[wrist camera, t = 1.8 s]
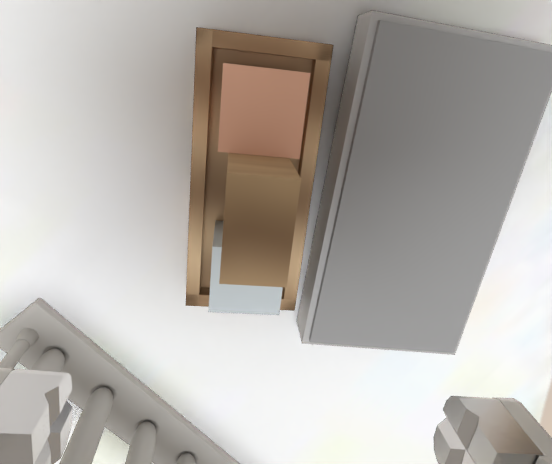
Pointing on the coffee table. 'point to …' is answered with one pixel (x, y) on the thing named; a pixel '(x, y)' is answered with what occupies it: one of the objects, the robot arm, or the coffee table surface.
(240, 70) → the block
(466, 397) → the robot arm
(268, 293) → the pale blue cube
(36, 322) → the test tube rack
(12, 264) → the coffee table surface
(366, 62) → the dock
